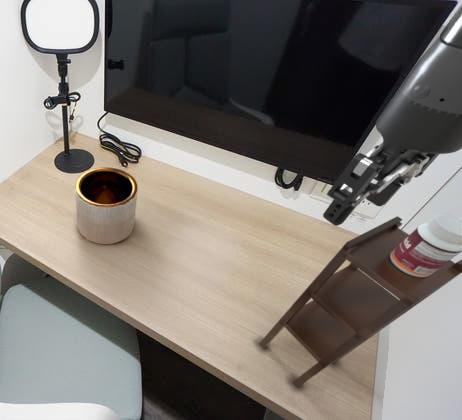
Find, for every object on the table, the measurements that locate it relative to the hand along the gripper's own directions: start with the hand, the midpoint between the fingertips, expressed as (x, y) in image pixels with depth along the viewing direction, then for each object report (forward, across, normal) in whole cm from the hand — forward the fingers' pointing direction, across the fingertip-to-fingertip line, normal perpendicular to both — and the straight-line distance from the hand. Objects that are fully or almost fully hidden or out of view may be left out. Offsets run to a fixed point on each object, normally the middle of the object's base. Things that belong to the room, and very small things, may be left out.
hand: (353, 211), depth 42 cm
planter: (+42, -13, +46) cm, 64 cm away
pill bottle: (+8, +8, -7) cm, 13 cm away
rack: (+41, +8, -7) cm, 43 cm away
